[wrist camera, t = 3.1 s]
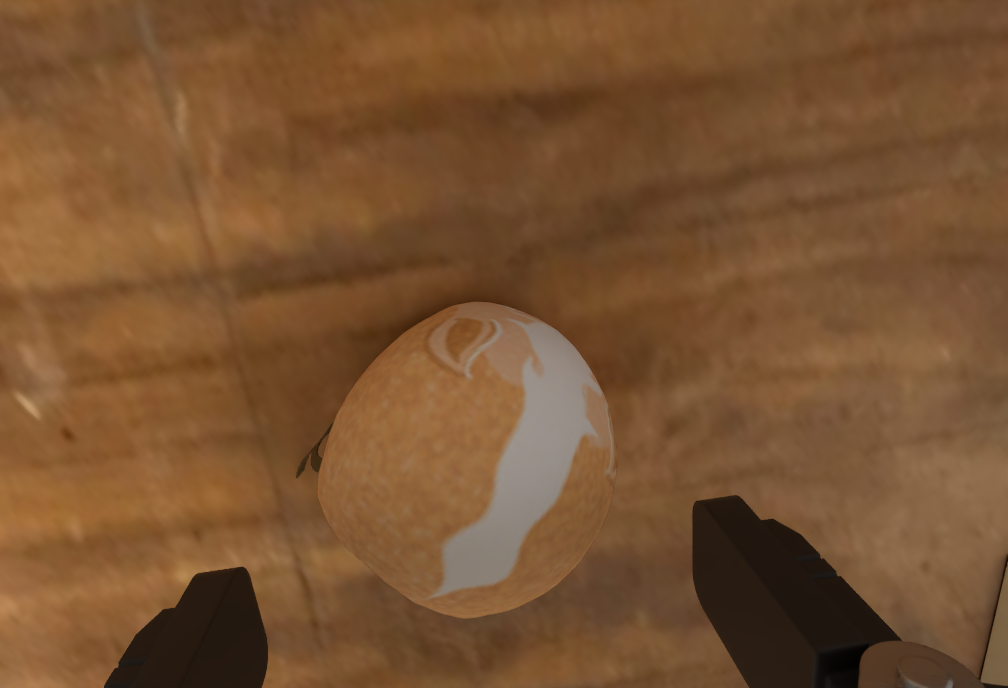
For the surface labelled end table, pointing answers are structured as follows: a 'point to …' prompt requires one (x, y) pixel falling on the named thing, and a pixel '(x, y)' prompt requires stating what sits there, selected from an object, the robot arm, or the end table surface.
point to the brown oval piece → (471, 461)
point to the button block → (998, 642)
